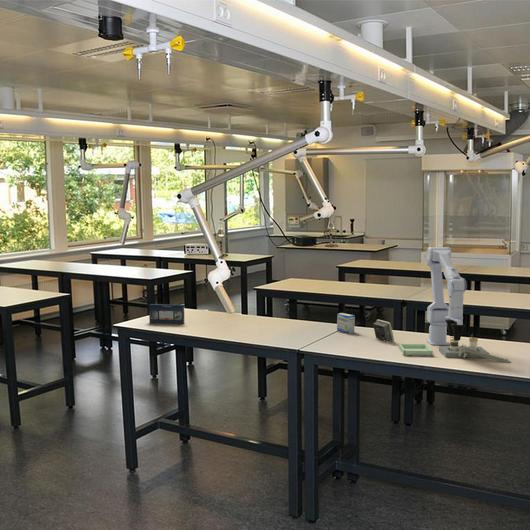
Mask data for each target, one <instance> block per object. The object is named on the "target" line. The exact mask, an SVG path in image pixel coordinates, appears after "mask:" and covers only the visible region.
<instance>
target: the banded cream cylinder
mask: <svg viewBox="0 0 530 530" xmlns="http://www.w3.org/2000/svg"><path fill="white" fill-rule="evenodd" d="M449 340H450V342H449V343H450V344H449V346H450V351H458V346H459V341H455V340H454V336H450V339H449Z"/></svg>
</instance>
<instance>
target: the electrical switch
mask: <svg viewBox="0 0 530 530" xmlns="http://www.w3.org/2000/svg"><path fill="white" fill-rule="evenodd" d="M372 324H373V325H372V326H373V330H374V336H375V339H376V338H378V339H377V340H379V339H382V340H381V341H383V340H385V341H384V342H386V341H388V342H394V341H395V339H394V333H393V328H392V324H391V322H389V321H385V320H382V319H376V321H375V322H373V323H372ZM390 340H391V341H390Z"/></svg>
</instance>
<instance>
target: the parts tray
mask: <svg viewBox="0 0 530 530" xmlns="http://www.w3.org/2000/svg"><path fill="white" fill-rule="evenodd" d="M397 347H398V348H399V349H400V350H399V349H398V350H399V351H400V353H401V352H402V353H403V354H402V353H401V354H402V355H403V356H404V355H412V356H411V357H433V352H434V351H433V350H432V348H430V347H429V345H427V344H426V343H398V346H397Z"/></svg>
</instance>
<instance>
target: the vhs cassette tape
mask: <svg viewBox="0 0 530 530" xmlns="http://www.w3.org/2000/svg"><path fill="white" fill-rule="evenodd" d="M148 307H149V310H148V315H149V316H148V317H149V318H148V319H149V324H167V325H168V324H169V325H170V324H171V325H184V324H185V304H168V303H167V304H166V303H165V304H162V303H150V304H149V305H148Z"/></svg>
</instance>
